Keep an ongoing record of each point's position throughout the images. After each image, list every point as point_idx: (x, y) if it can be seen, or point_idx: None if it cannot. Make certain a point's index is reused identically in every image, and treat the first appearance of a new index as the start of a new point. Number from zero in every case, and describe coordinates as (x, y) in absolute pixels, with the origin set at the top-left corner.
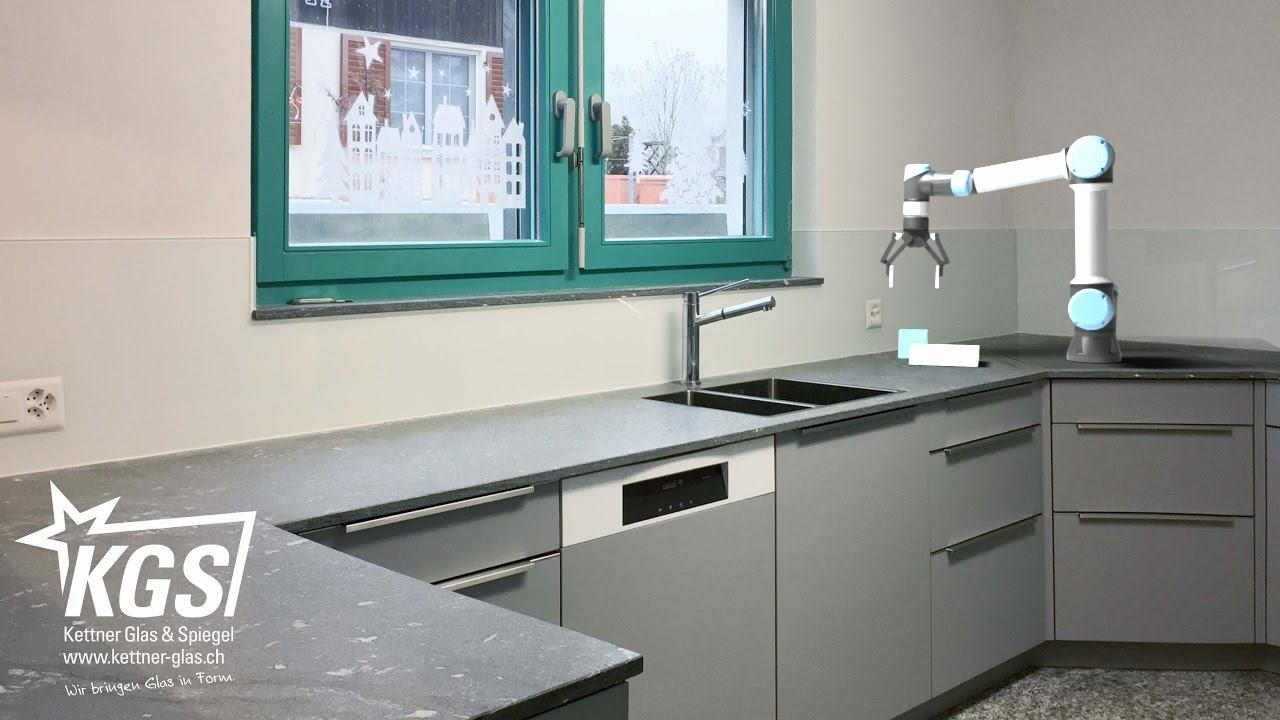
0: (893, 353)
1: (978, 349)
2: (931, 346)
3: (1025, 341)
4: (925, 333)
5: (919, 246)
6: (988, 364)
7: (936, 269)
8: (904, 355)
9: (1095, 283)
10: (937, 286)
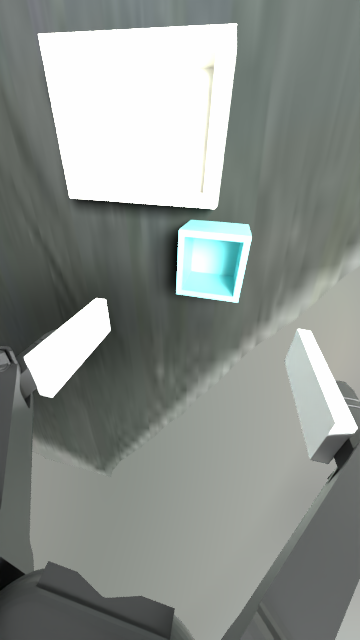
0: (248, 306)
1: (54, 111)
2: (171, 191)
3: (83, 424)
4: (180, 229)
5: (47, 586)
6: None
7: (50, 347)
8: (234, 224)
9: None
10: (95, 301)
